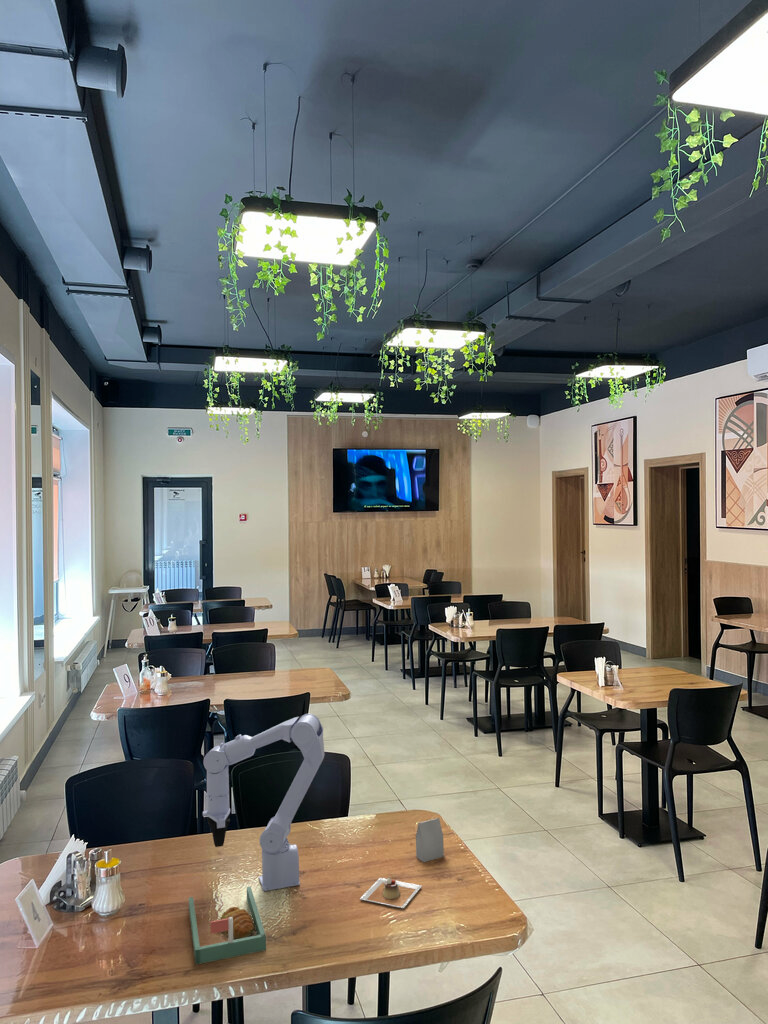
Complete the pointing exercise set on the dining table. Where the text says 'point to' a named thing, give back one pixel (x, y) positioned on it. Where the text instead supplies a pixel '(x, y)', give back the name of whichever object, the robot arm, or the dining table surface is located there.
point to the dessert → (390, 890)
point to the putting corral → (231, 946)
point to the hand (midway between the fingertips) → (219, 845)
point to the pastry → (239, 922)
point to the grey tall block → (429, 840)
